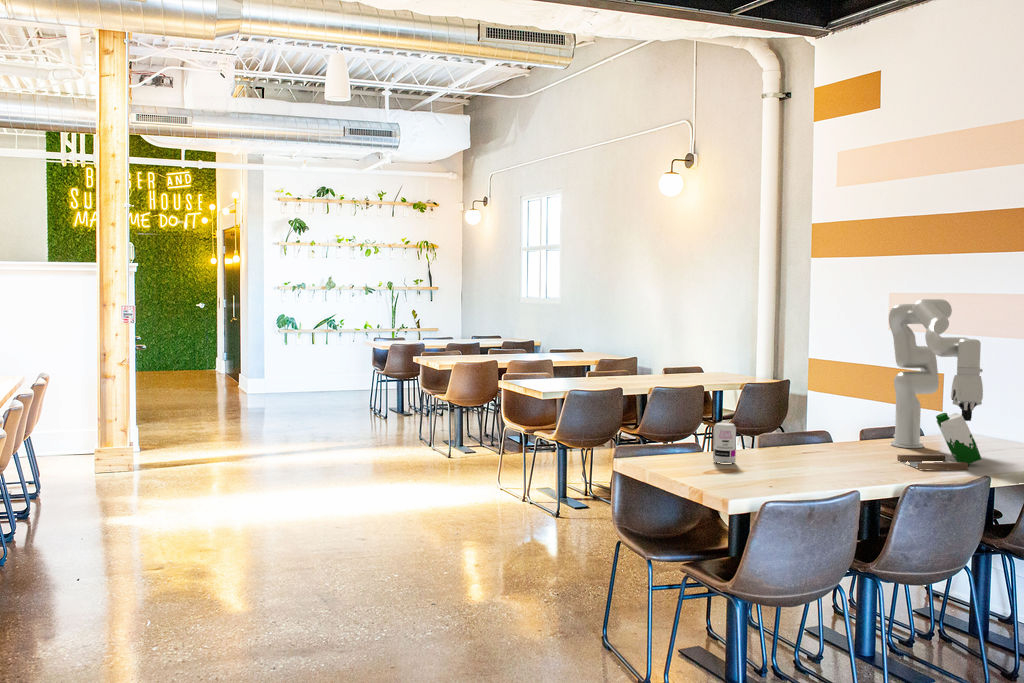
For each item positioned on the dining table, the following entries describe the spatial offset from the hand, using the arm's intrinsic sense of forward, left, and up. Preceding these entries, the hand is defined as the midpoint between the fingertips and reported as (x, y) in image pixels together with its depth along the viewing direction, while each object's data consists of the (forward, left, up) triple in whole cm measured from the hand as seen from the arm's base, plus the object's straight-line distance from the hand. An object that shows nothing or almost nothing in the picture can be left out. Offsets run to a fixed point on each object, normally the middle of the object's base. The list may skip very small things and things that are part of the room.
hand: (966, 420), depth 321 cm
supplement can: (-8, -90, -17) cm, 92 cm away
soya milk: (0, +2, -16) cm, 16 cm away
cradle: (0, -13, -17) cm, 21 cm away
